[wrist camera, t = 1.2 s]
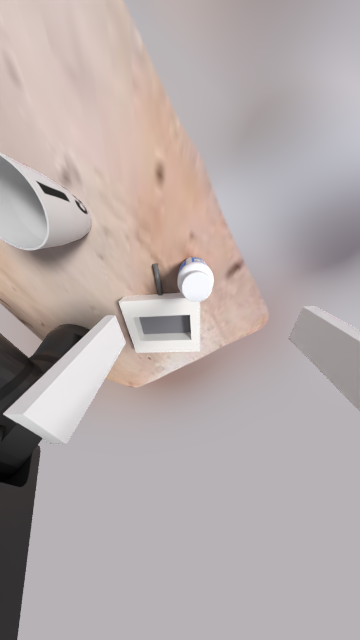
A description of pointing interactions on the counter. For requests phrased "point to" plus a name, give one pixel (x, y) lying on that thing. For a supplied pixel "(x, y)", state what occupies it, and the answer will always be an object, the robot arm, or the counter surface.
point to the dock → (162, 321)
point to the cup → (37, 209)
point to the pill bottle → (195, 279)
